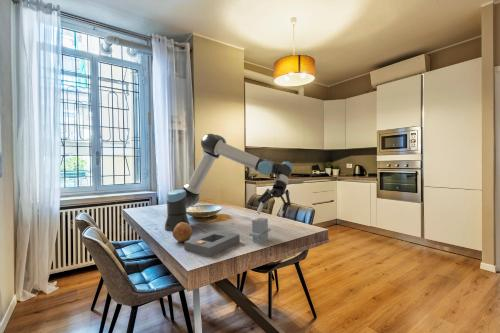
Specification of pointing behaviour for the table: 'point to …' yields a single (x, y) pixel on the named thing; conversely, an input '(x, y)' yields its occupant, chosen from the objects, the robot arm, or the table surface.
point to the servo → (260, 230)
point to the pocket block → (212, 243)
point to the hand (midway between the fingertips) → (268, 214)
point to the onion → (182, 232)
